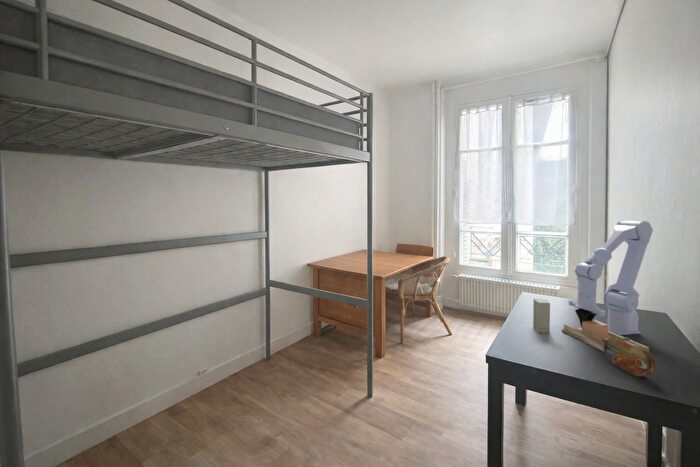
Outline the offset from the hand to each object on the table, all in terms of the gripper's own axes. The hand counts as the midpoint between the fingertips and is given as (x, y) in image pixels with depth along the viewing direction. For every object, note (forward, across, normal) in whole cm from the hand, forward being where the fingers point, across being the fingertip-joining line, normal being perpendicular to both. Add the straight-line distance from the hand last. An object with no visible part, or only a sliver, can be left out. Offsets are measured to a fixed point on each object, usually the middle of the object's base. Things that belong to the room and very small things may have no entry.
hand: (585, 328), depth 130 cm
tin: (+3, +26, -10) cm, 28 cm away
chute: (+2, +8, 0) cm, 8 cm away
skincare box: (+3, -8, -13) cm, 15 cm away
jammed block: (+1, +4, 0) cm, 4 cm away
